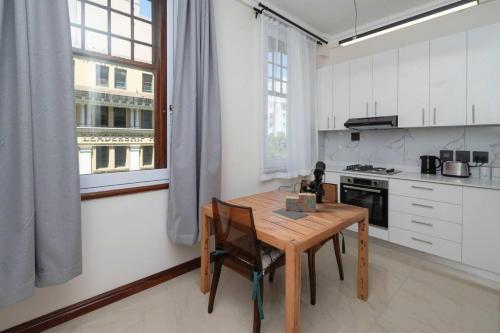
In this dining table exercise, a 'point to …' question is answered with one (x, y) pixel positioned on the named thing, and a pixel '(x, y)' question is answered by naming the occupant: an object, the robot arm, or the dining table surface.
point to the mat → (290, 213)
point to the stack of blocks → (301, 202)
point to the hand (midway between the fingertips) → (307, 198)
